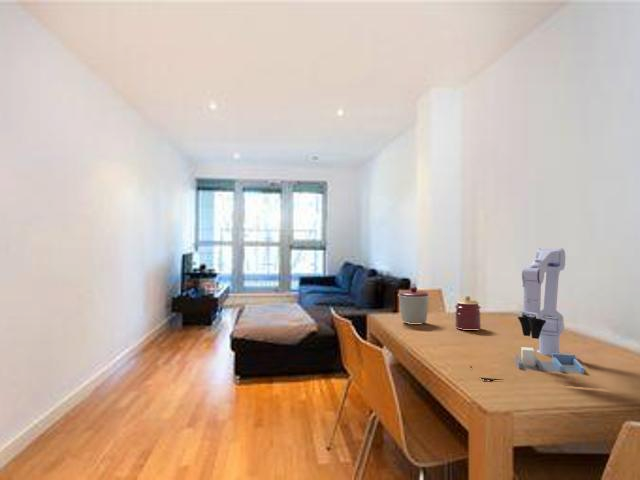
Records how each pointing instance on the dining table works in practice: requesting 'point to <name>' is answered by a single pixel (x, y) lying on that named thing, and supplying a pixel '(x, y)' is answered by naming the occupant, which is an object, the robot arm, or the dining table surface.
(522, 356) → the block
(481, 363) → the dining table surface
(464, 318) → the canister
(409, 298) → the canister
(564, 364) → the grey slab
